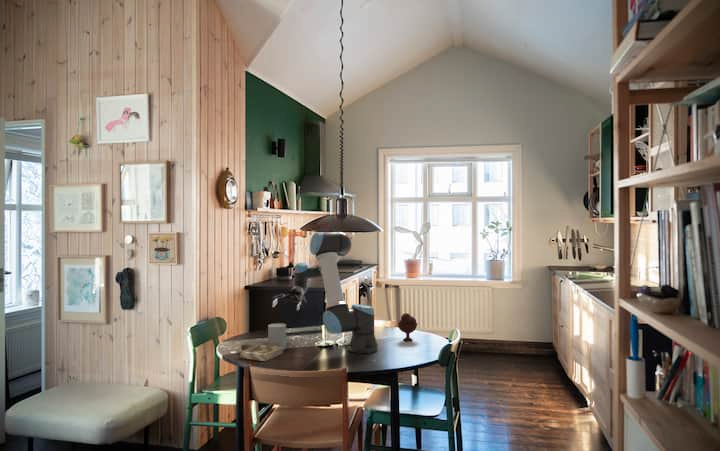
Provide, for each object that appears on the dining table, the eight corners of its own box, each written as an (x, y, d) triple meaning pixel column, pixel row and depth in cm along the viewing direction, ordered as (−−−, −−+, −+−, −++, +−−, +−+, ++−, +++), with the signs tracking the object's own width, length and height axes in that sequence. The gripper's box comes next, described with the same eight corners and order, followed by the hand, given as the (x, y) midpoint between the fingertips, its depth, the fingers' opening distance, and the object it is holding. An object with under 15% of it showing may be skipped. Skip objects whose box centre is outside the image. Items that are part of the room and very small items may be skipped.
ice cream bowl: (396, 342, 266) (396, 315, 266) (400, 337, 277) (399, 311, 276) (416, 343, 263) (415, 315, 263) (418, 338, 274) (418, 312, 274)
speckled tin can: (282, 350, 252) (282, 327, 252) (265, 350, 254) (265, 326, 254) (289, 346, 261) (288, 323, 261) (272, 345, 263) (271, 322, 263)
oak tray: (282, 353, 247) (282, 347, 247) (265, 361, 233) (265, 355, 233) (258, 350, 253) (258, 344, 253) (240, 357, 240) (240, 351, 240)
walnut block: (251, 350, 253) (251, 343, 253) (248, 352, 249) (248, 345, 249) (243, 350, 253) (243, 343, 253) (241, 352, 249) (241, 345, 249)
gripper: (316, 302, 281) (307, 315, 260) (274, 297, 284) (262, 309, 263) (317, 290, 279) (308, 302, 259) (275, 285, 282) (263, 296, 262)
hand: (285, 306), depth 261 cm, fingers open, 13 cm apart
